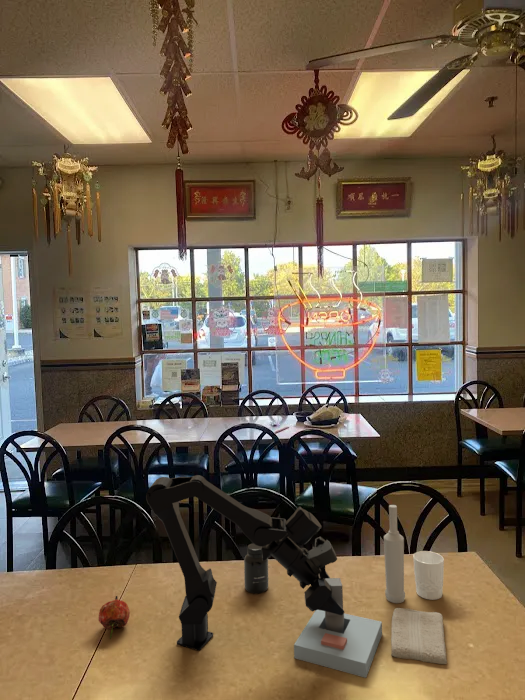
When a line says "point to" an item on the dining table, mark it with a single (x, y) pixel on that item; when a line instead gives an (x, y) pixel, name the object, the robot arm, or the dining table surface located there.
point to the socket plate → (340, 644)
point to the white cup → (428, 574)
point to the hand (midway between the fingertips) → (340, 602)
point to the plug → (335, 620)
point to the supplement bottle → (255, 570)
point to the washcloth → (418, 636)
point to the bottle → (394, 560)
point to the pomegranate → (114, 614)
